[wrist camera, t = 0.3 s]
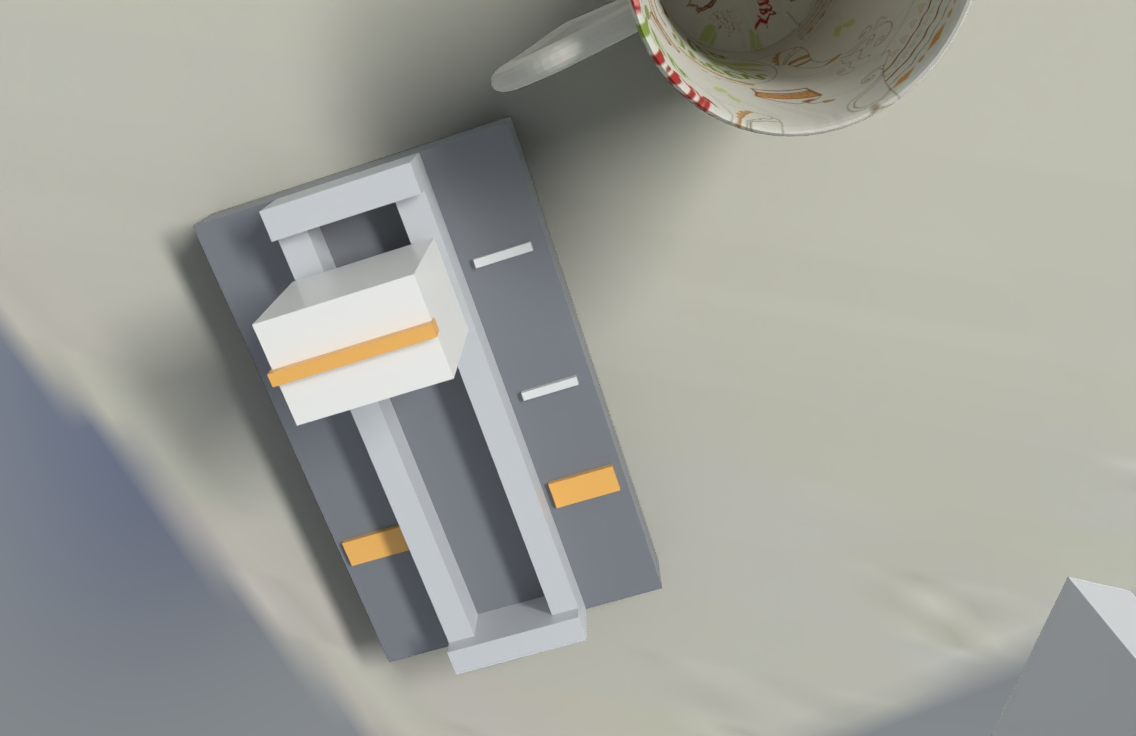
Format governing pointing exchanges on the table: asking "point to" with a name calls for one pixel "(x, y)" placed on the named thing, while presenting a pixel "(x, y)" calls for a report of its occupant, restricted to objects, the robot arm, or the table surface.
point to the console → (455, 409)
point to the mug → (764, 55)
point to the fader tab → (363, 332)
